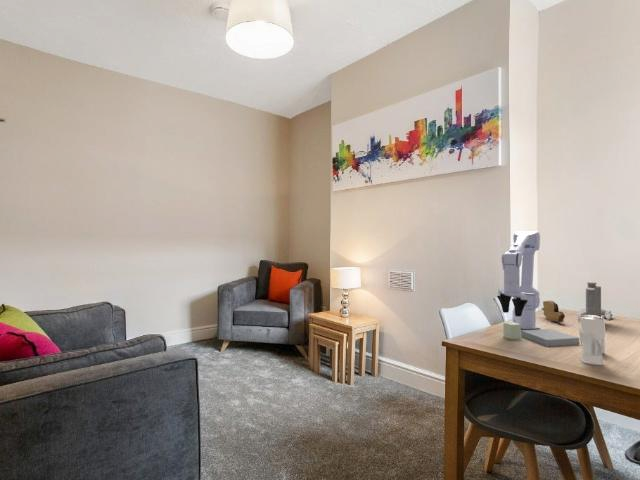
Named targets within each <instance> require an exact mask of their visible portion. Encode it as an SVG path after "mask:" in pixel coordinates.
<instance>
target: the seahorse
mask: <svg viewBox="0 0 640 480" xmlns="http://www.w3.org/2000/svg"><path fill="white" fill-rule="evenodd" d="M581 315H586V308H581V309H580V312H579V313H578V314H577V315H576V316H577V318H578V319H579V320H580V316H581ZM613 315H614V314H613V313H612V311H611V310H606V309H602V308H601V316H604V317H603V318H606V320H607V321H611V319H612V317H613Z"/></svg>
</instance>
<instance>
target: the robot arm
mask: <svg viewBox="0 0 640 480" xmlns="http://www.w3.org/2000/svg"><path fill="white" fill-rule="evenodd" d="M512 237H513V244H511V245H510V247H509V248H508V250H507V251H506V252H504V253H502V254H501V265H502V271H503V289H498V295H497V297H496V298H497V299H498V301H499V303H500V305H501V310H502V313H507V314H508V313H509V311H510V302H511V301H512V303H513V310H512V322H515V323H518V324H521V330H522V329H523V330H539V329H541V327H540V326H537V325H536V324H537V323H536V322H537V321H536V318H537V317H536V309H538V308H539V307H540V303H541V300H540V292H539V290H537V289H536V288H535V287H534V286H533V284H534V283H533V281H534V265H535V264H534V262H535V253H536V252H537V251H539V250H540V244H541V235H540V232H539V231H538V230H536V231H517V230H516V231H515V232H514V233H513V236H512ZM520 267H521V269H520ZM520 270H521V272H520ZM520 274H521V276H520ZM520 277H521V278H520Z"/></svg>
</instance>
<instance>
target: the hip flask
mask: <svg viewBox="0 0 640 480" xmlns="http://www.w3.org/2000/svg"><path fill="white" fill-rule="evenodd" d="M586 284H587V287H585V309H586V315H591V316H598V317H602V315H601V309H602V287H601V286H600V285H597V282H595V281H587V282H586Z"/></svg>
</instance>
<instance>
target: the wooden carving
mask: <svg viewBox="0 0 640 480" xmlns="http://www.w3.org/2000/svg"><path fill="white" fill-rule="evenodd" d="M542 305H543V307H542V308H541V310H542V311H543V316H544V317H545V318H546V320H548V321H550V322H556V323H564V319H565V318H566V317H565V313H564V312H563V311H559V305H558V303H556V302H555V301H553V300H544V301H542Z"/></svg>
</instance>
